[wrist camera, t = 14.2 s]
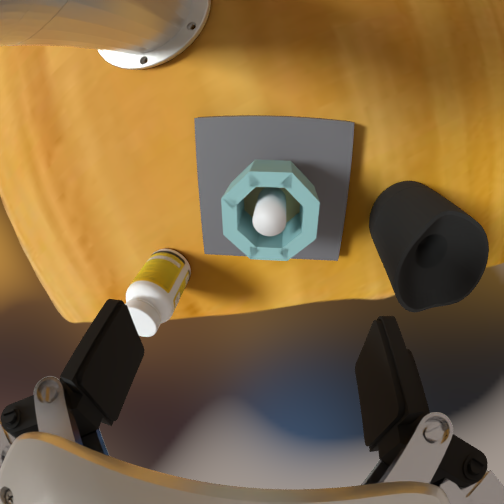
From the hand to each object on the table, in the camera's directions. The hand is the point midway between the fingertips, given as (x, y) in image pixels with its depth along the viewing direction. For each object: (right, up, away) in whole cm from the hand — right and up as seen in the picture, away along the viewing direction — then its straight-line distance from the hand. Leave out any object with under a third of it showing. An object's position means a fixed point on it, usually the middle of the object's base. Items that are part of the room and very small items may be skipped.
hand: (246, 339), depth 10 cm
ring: (+2, +8, +14) cm, 16 cm away
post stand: (+2, +9, +17) cm, 19 cm away
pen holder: (+16, +7, +17) cm, 24 cm away
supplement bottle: (-10, +2, +23) cm, 25 cm away
